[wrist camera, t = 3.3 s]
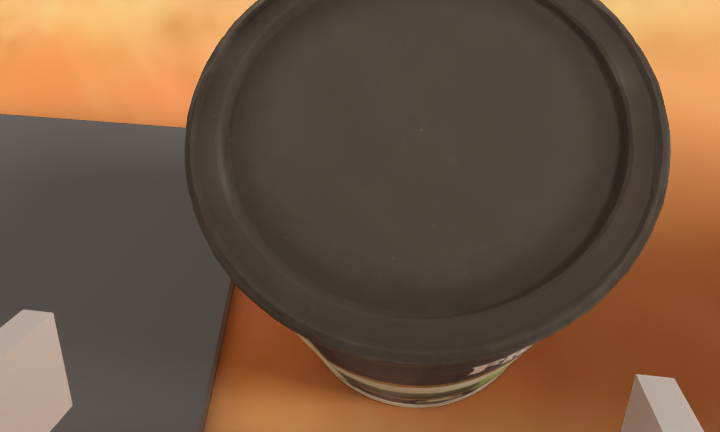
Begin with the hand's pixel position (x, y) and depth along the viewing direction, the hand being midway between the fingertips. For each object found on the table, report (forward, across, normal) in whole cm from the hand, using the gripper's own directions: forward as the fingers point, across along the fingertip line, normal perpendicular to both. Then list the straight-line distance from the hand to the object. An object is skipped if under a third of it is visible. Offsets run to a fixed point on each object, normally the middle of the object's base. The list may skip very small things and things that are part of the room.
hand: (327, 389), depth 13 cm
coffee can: (+12, +2, -4) cm, 13 cm away
